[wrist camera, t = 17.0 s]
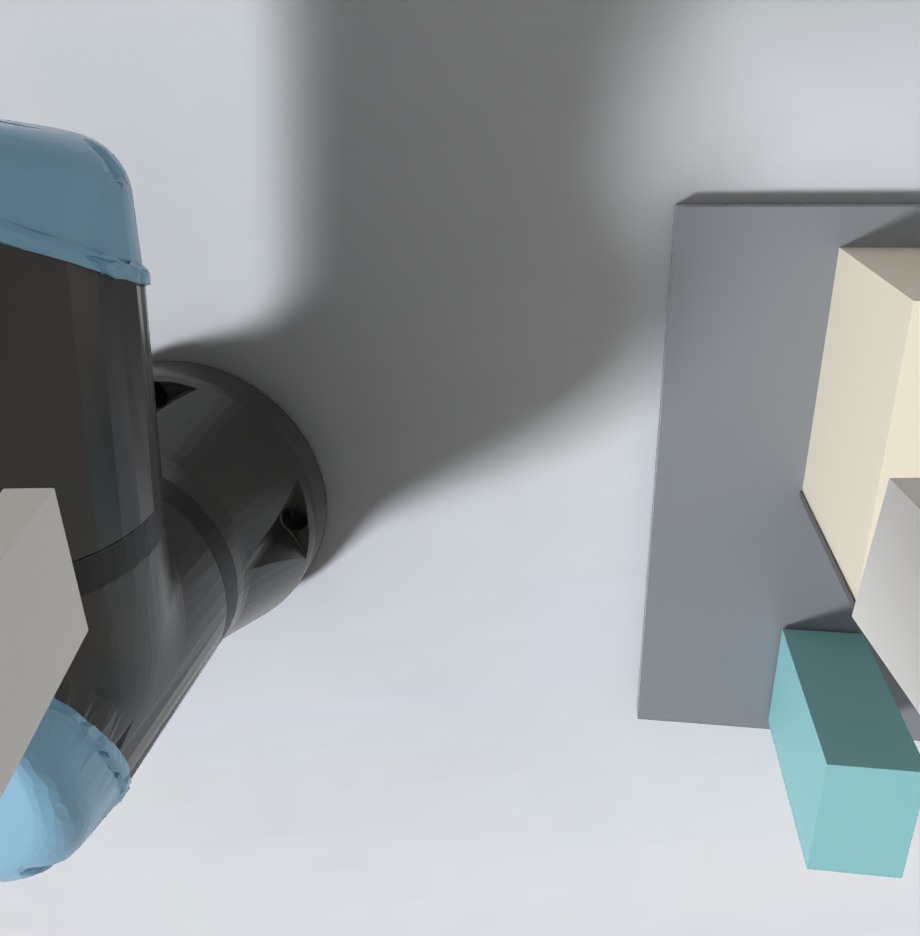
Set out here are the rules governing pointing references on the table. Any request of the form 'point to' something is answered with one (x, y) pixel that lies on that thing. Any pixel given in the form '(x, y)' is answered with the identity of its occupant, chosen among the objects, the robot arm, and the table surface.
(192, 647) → the robot arm
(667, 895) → the table surface
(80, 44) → the table surface
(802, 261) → the ticket stand
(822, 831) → the stub
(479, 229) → the table surface
